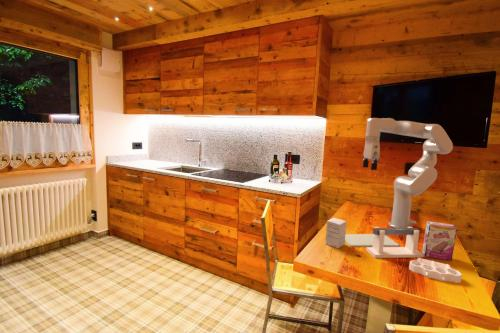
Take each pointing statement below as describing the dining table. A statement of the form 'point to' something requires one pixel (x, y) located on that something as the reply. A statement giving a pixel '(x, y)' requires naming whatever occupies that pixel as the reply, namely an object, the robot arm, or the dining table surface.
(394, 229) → the rail
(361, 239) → the mat
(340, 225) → the supplement box
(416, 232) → the hook rack
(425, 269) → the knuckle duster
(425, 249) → the candy bar box
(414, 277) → the dining table surface
